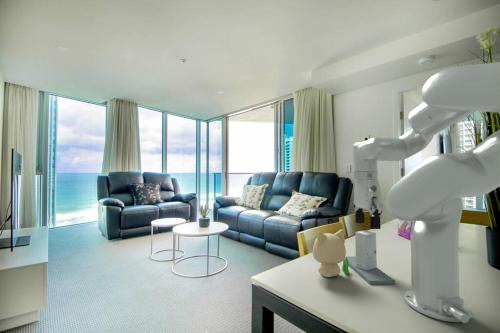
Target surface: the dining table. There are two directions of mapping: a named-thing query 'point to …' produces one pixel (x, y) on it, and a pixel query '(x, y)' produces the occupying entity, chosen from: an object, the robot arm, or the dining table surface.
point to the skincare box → (365, 250)
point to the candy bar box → (405, 228)
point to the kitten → (330, 253)
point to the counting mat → (370, 273)
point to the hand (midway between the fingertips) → (367, 225)
